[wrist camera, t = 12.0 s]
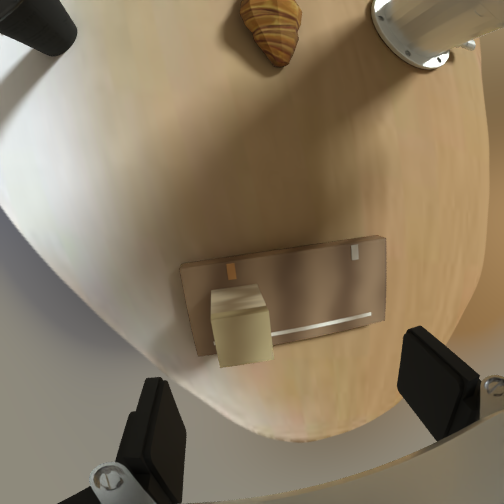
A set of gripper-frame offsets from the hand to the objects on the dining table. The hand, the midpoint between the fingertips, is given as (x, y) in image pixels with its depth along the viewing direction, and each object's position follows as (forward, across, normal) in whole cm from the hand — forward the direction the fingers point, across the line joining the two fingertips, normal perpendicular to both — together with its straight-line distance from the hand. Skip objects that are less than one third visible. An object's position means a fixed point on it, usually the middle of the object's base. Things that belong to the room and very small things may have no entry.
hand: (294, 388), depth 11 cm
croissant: (+23, -6, -25) cm, 35 cm away
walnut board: (+22, -4, +6) cm, 23 cm away
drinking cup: (+23, +18, -29) cm, 41 cm away
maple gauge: (+20, +2, +5) cm, 21 cm away
